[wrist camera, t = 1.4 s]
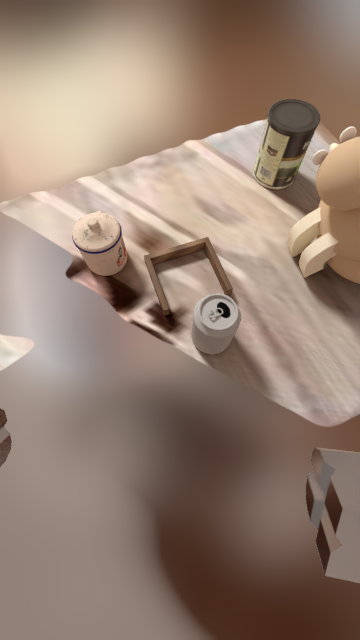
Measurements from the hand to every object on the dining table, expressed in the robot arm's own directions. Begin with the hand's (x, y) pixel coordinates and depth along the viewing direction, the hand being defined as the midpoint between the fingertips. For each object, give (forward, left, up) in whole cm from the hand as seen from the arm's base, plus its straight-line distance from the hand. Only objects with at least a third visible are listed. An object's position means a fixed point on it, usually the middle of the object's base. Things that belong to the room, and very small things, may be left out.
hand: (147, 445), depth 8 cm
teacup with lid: (-2, +40, -44) cm, 60 cm away
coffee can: (+42, +49, -44) cm, 79 cm away
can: (+12, +15, -44) cm, 48 cm away
